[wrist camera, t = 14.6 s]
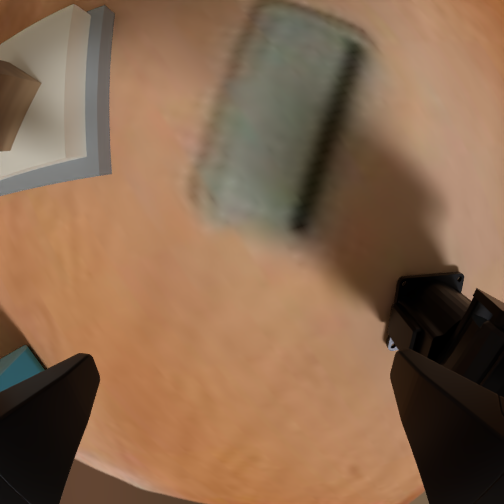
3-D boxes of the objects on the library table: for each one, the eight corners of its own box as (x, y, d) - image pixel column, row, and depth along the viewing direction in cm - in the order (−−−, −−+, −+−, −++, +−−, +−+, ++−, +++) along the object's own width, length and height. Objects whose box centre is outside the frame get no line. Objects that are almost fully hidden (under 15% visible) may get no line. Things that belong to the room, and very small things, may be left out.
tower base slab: (118, 16, 16) (104, 5, 13) (116, 173, 20) (99, 175, 17) (6, 65, 16) (-10, 61, 14) (5, 194, 20) (-13, 199, 18)
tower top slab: (91, 15, 14) (73, 3, 11) (86, 156, 17) (65, 157, 14) (-5, 65, 14) (-24, 61, 12) (-8, 182, 17) (-28, 187, 15)
